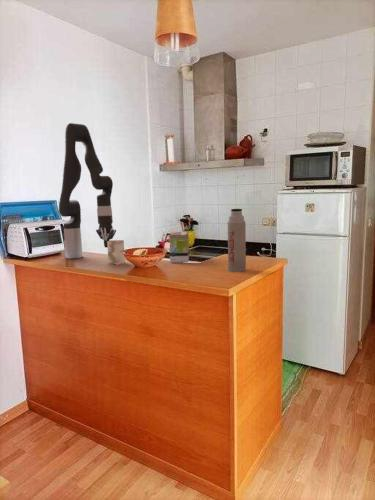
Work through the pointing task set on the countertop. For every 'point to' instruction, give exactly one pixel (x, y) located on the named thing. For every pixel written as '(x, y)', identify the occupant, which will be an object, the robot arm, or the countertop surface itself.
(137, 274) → the countertop surface
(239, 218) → the thermos bottle
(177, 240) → the tea box
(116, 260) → the birch block
